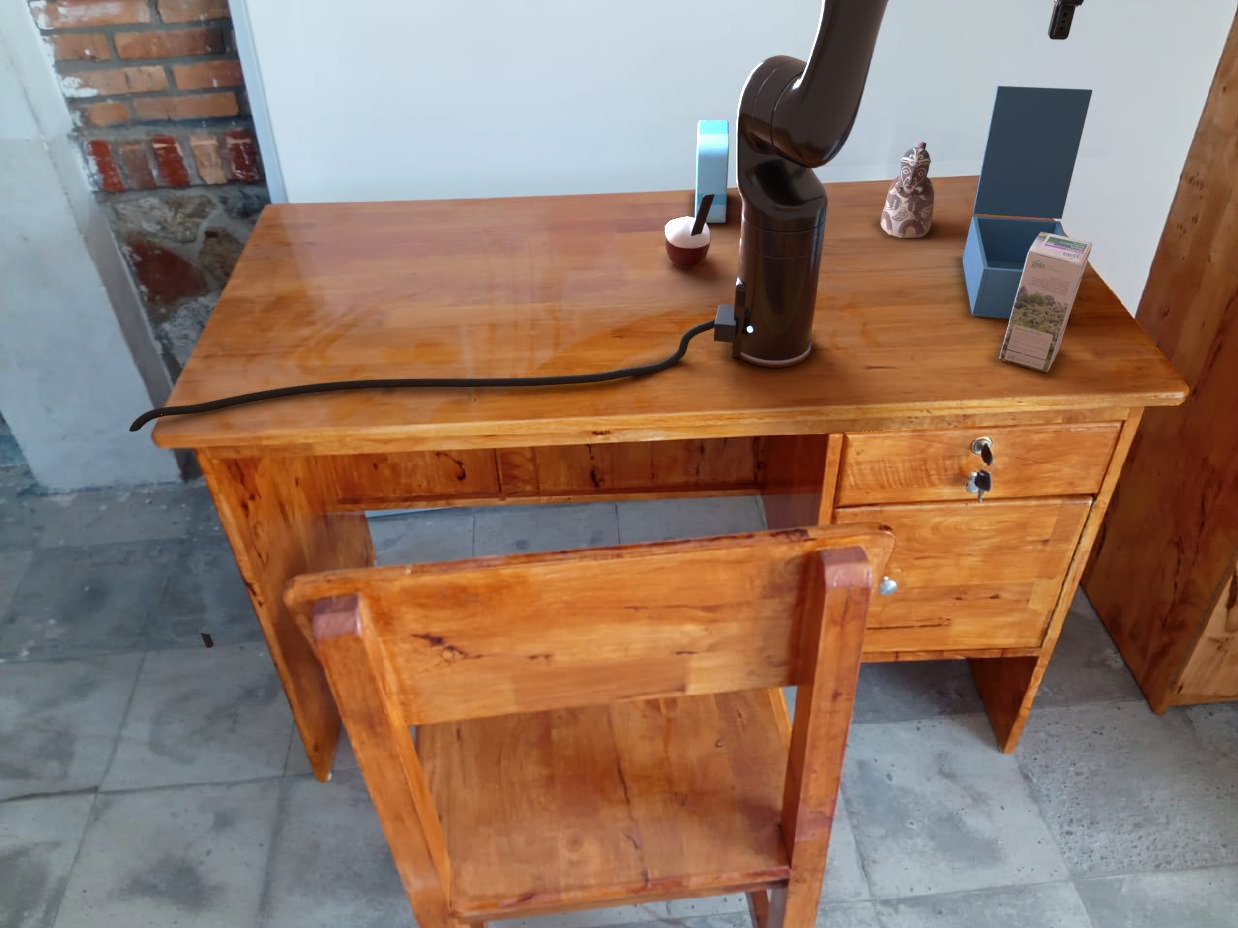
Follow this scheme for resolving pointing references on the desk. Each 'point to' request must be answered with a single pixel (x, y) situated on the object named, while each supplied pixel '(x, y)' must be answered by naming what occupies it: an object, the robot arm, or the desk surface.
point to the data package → (712, 167)
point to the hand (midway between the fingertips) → (1057, 38)
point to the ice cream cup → (689, 237)
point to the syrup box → (1044, 300)
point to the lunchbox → (999, 260)
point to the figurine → (910, 197)
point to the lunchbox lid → (1031, 151)
